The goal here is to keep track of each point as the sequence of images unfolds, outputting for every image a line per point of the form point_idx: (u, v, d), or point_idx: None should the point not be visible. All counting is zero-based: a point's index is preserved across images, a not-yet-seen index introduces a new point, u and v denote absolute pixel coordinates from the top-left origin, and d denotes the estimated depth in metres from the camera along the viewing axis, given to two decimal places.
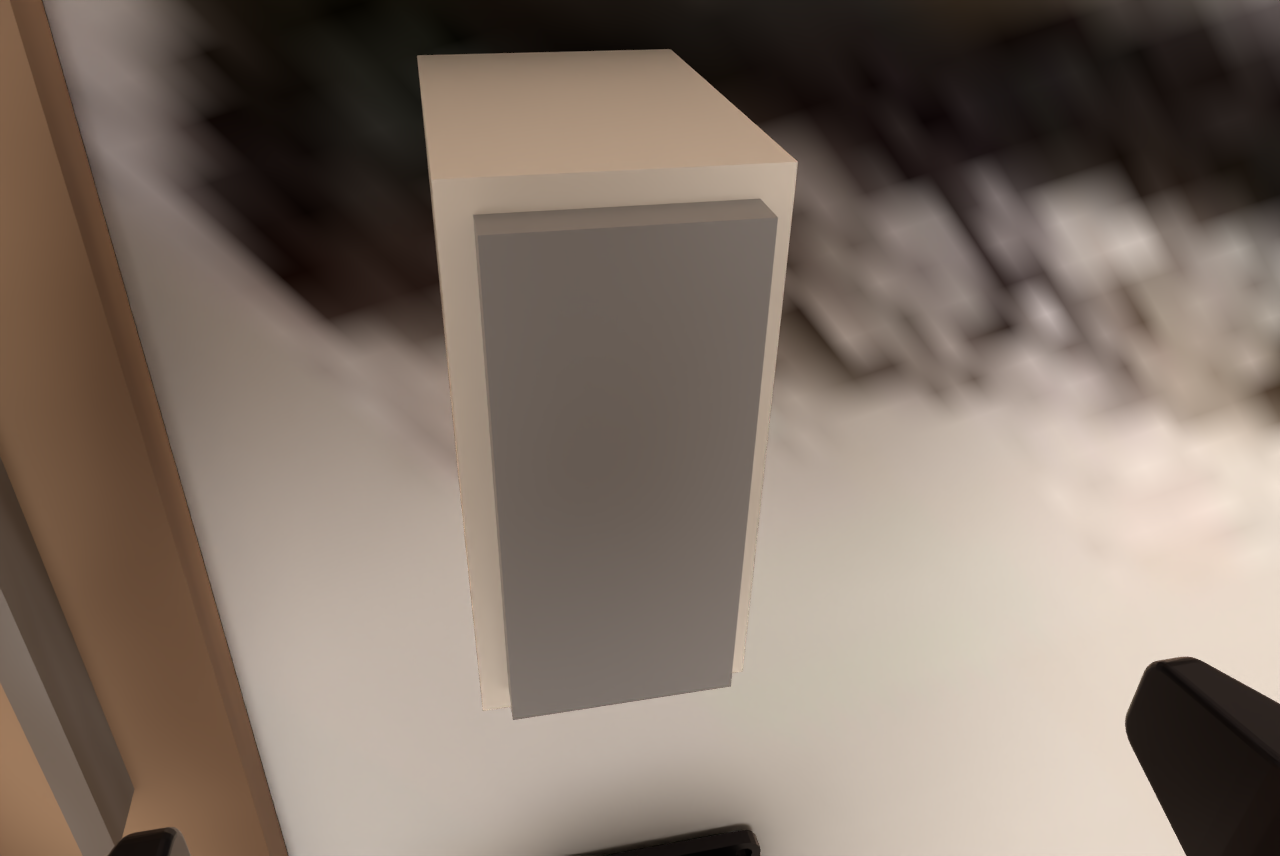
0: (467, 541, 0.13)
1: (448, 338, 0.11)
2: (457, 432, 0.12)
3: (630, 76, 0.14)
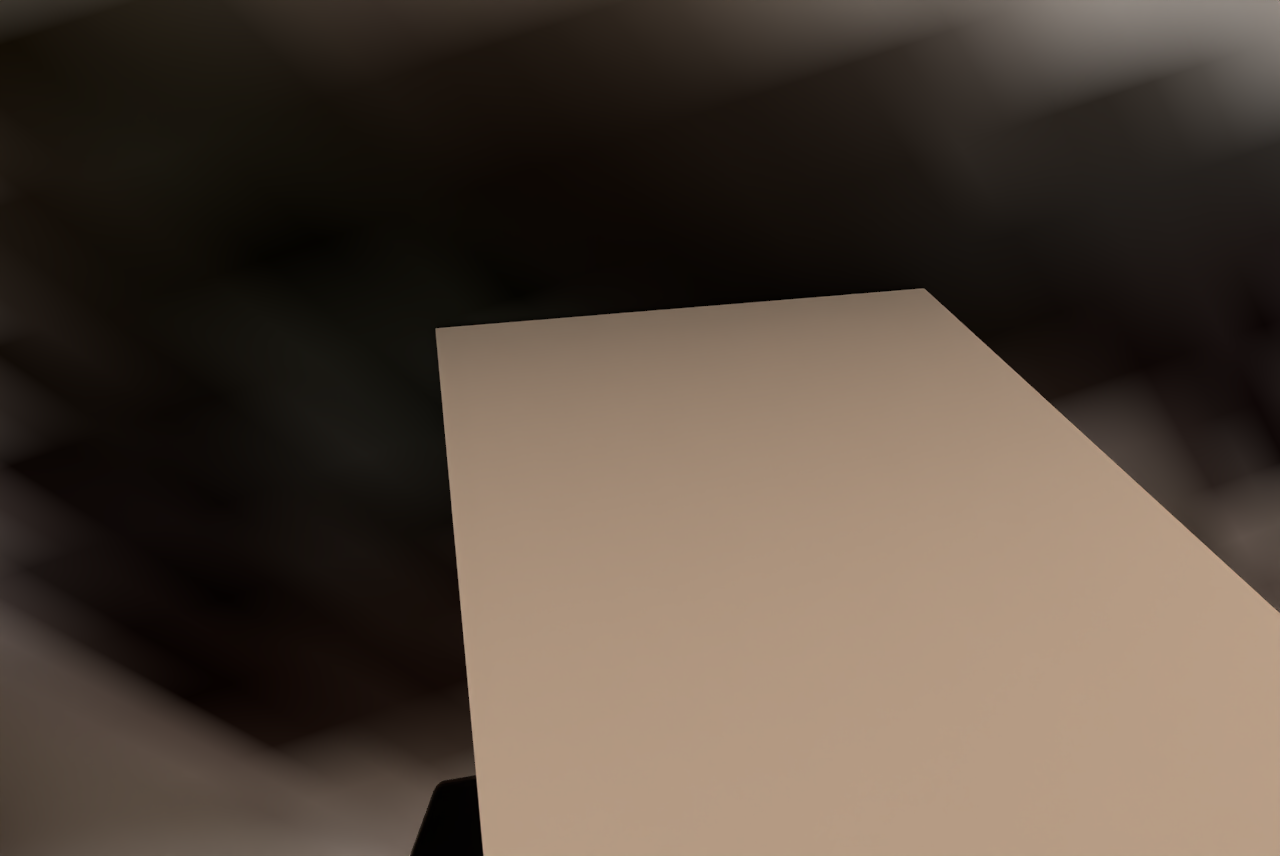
0: None
1: None
2: None
3: (907, 416, 0.06)
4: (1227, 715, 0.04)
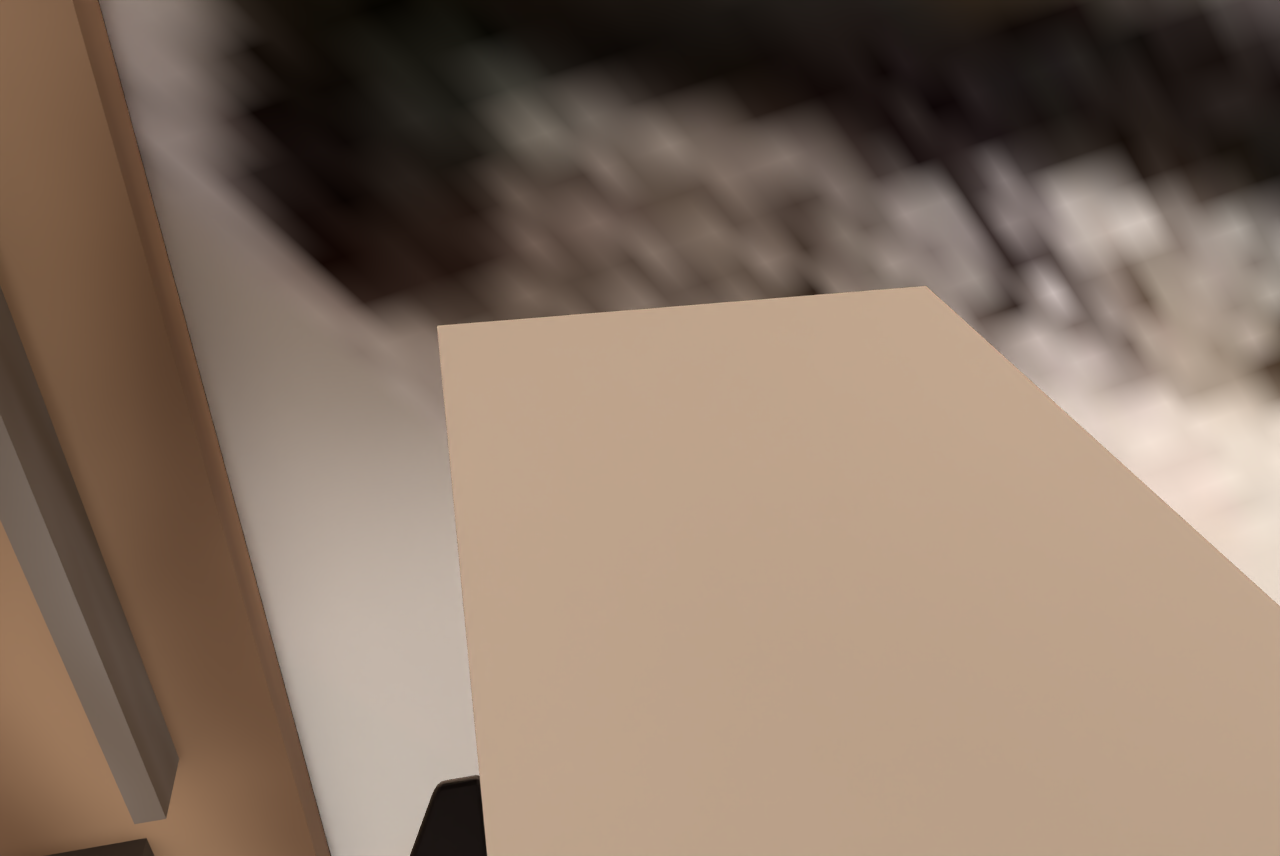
0: None
1: None
2: None
3: (910, 413, 0.06)
4: (1232, 711, 0.04)
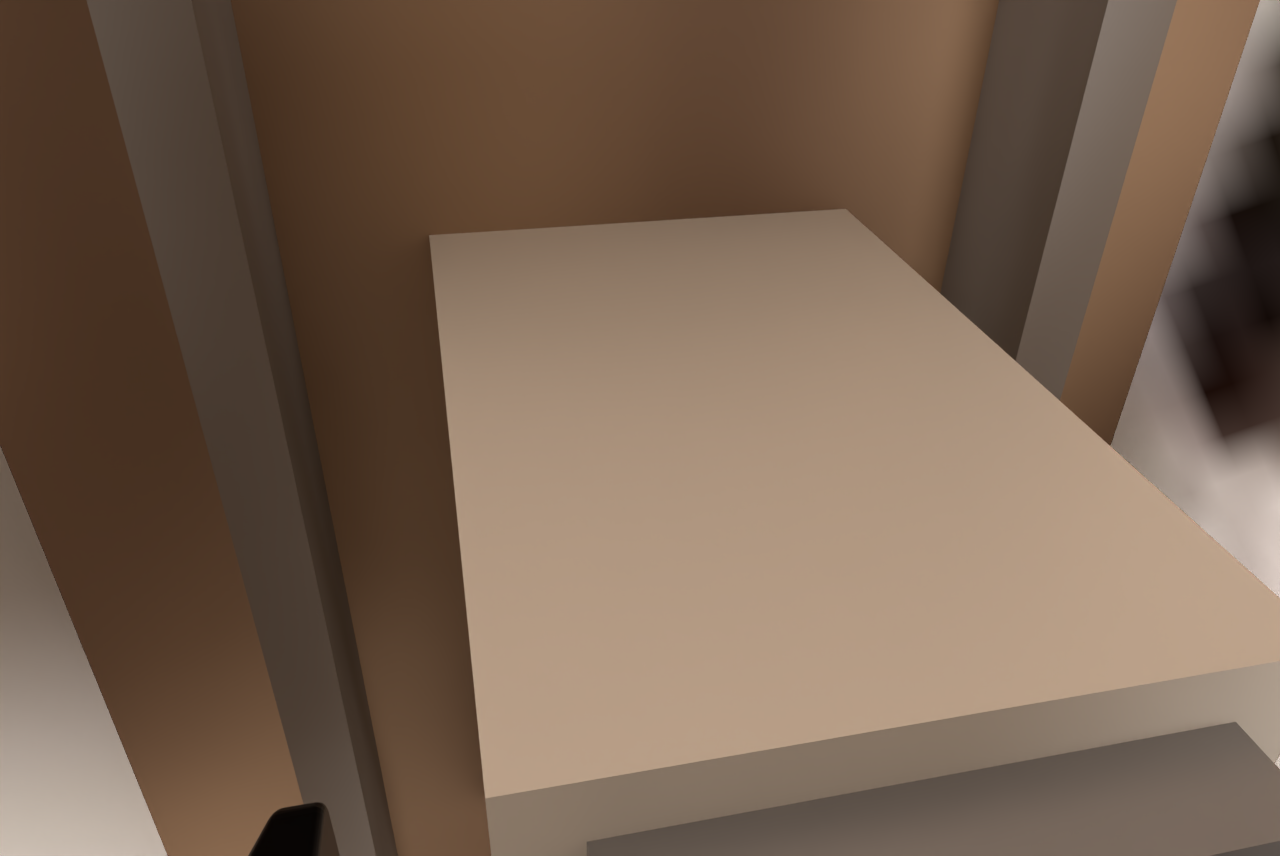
0: None
1: None
2: None
3: (814, 296, 0.08)
4: (1022, 478, 0.06)
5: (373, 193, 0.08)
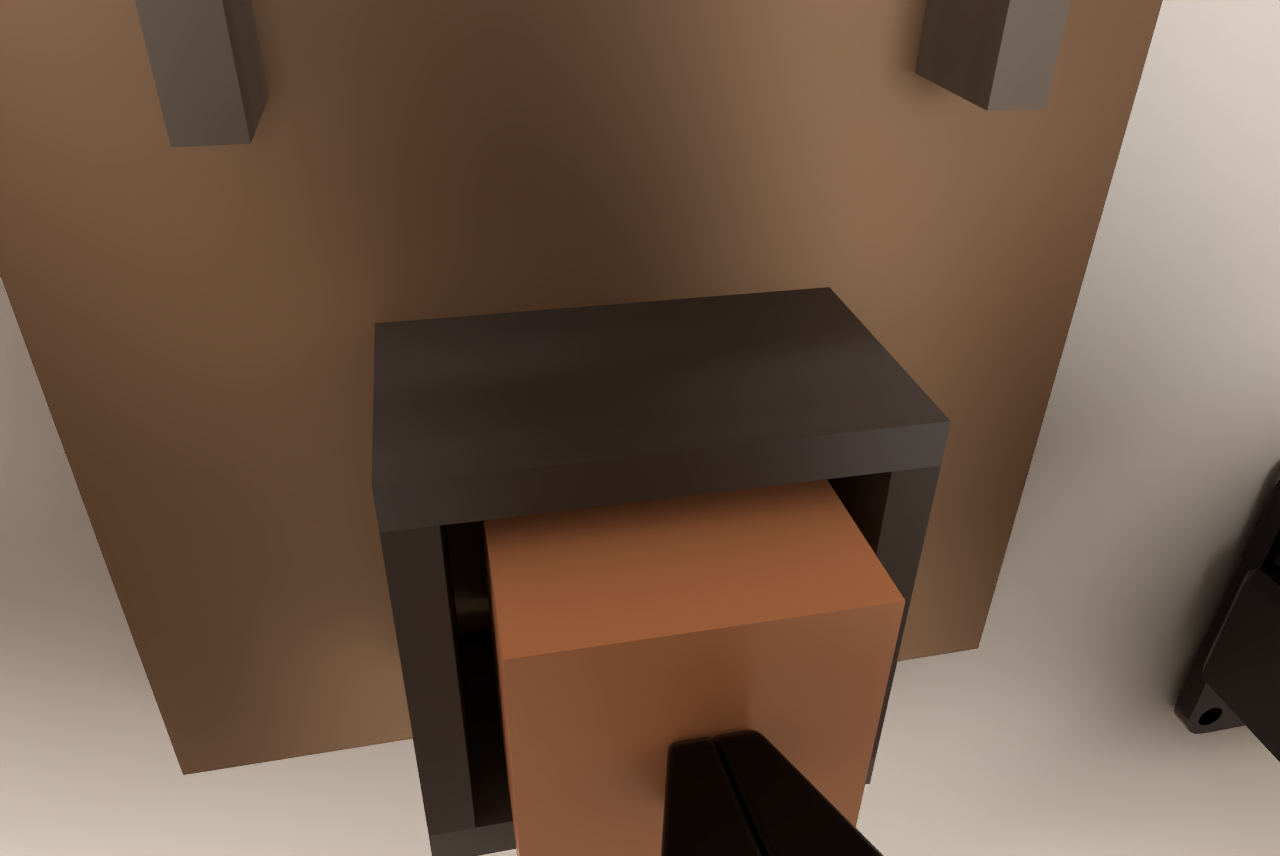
0: None
1: None
2: None
3: None
4: None
5: None
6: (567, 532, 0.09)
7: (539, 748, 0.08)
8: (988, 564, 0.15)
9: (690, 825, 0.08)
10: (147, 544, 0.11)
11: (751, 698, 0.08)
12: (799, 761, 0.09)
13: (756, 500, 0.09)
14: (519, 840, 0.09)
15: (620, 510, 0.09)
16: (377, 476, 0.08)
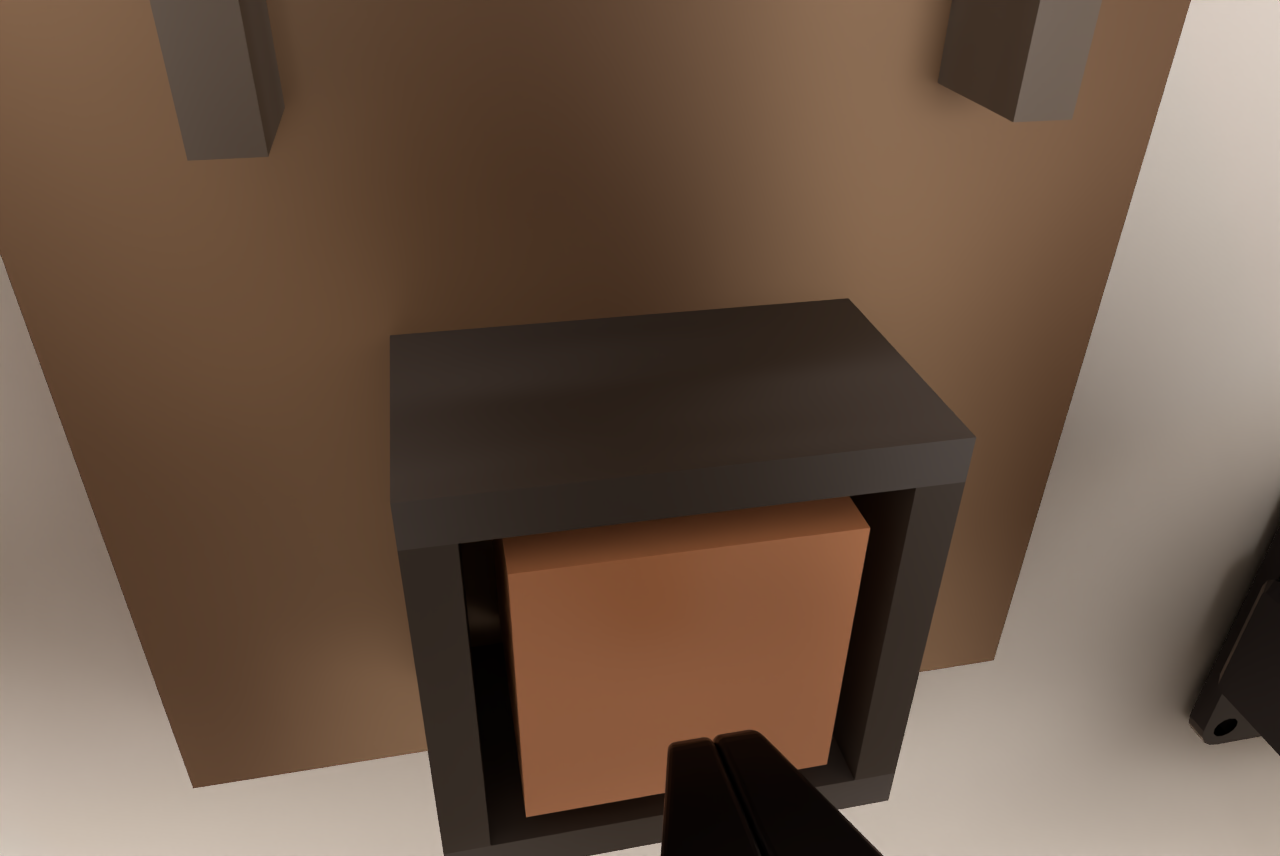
0: None
1: None
2: None
3: None
4: None
5: None
6: None
7: (540, 658, 0.09)
8: (1005, 576, 0.14)
9: (690, 825, 0.08)
10: (160, 556, 0.11)
11: (732, 618, 0.09)
12: (777, 680, 0.10)
13: None
14: (521, 749, 0.10)
15: None
16: (395, 494, 0.08)
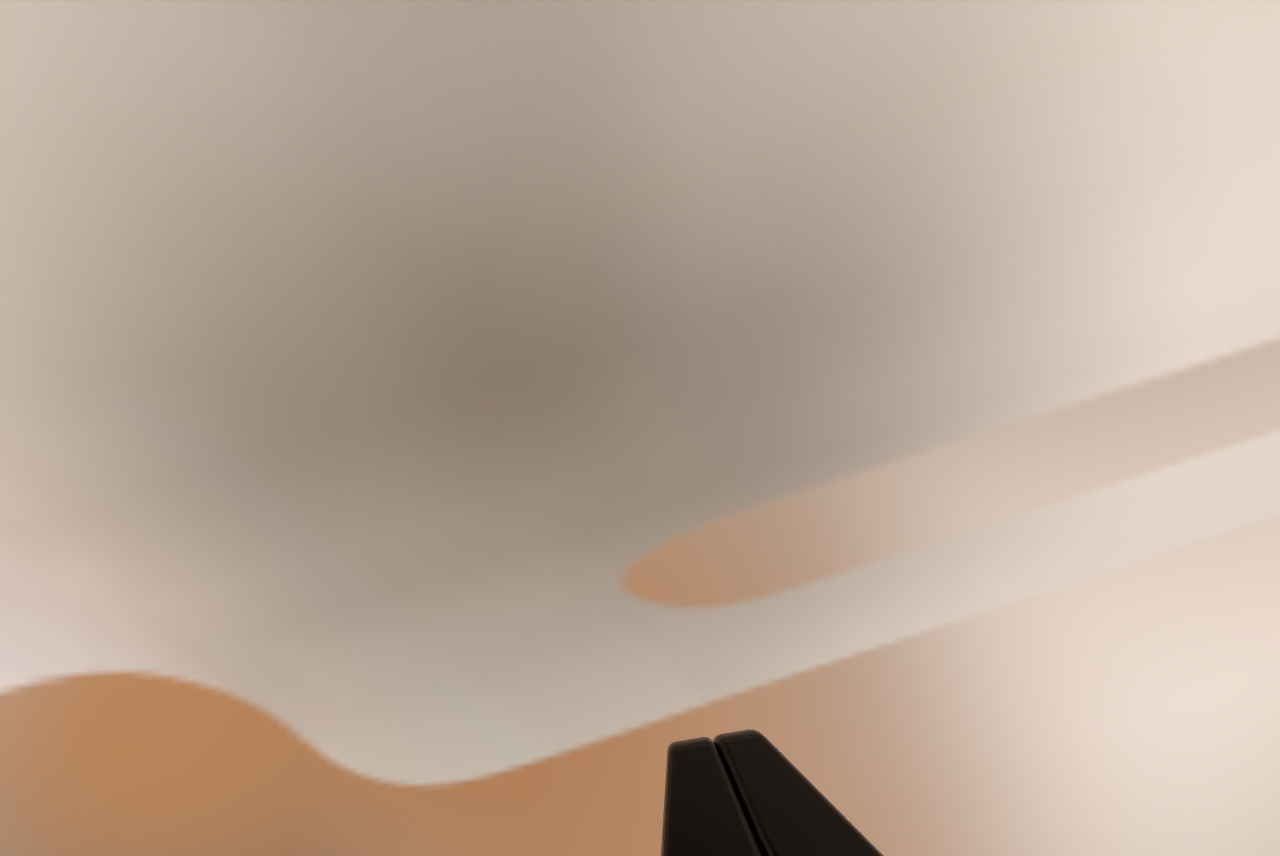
0: None
1: None
2: None
3: None
4: None
5: None
6: None
7: None
8: None
9: (690, 825, 0.08)
10: None
11: None
12: None
13: None
14: None
15: None
16: None
